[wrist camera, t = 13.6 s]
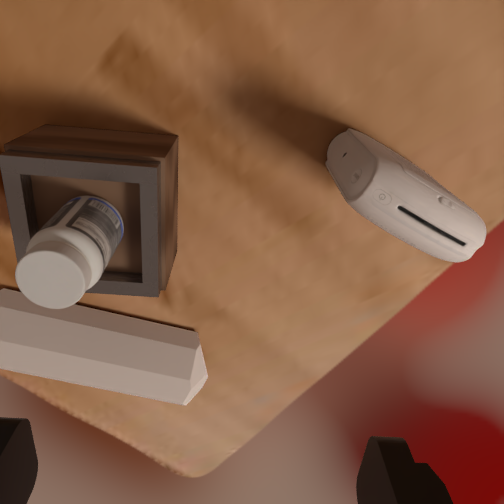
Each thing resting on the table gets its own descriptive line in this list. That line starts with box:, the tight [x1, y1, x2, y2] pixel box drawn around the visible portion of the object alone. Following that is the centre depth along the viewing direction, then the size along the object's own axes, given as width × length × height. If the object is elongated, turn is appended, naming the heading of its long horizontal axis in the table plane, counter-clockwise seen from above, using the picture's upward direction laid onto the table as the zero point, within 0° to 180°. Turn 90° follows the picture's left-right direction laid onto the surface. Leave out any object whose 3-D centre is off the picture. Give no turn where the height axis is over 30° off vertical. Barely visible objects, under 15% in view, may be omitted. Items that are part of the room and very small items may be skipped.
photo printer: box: [325, 128, 486, 262], centre depth 33 cm, size 10×4×12 cm, turn 60°
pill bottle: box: [15, 196, 124, 309], centre depth 29 cm, size 5×5×8 cm
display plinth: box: [0, 125, 178, 297], centre depth 35 cm, size 11×11×8 cm
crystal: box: [0, 288, 208, 405], centre depth 44 cm, size 7×7×24 cm
